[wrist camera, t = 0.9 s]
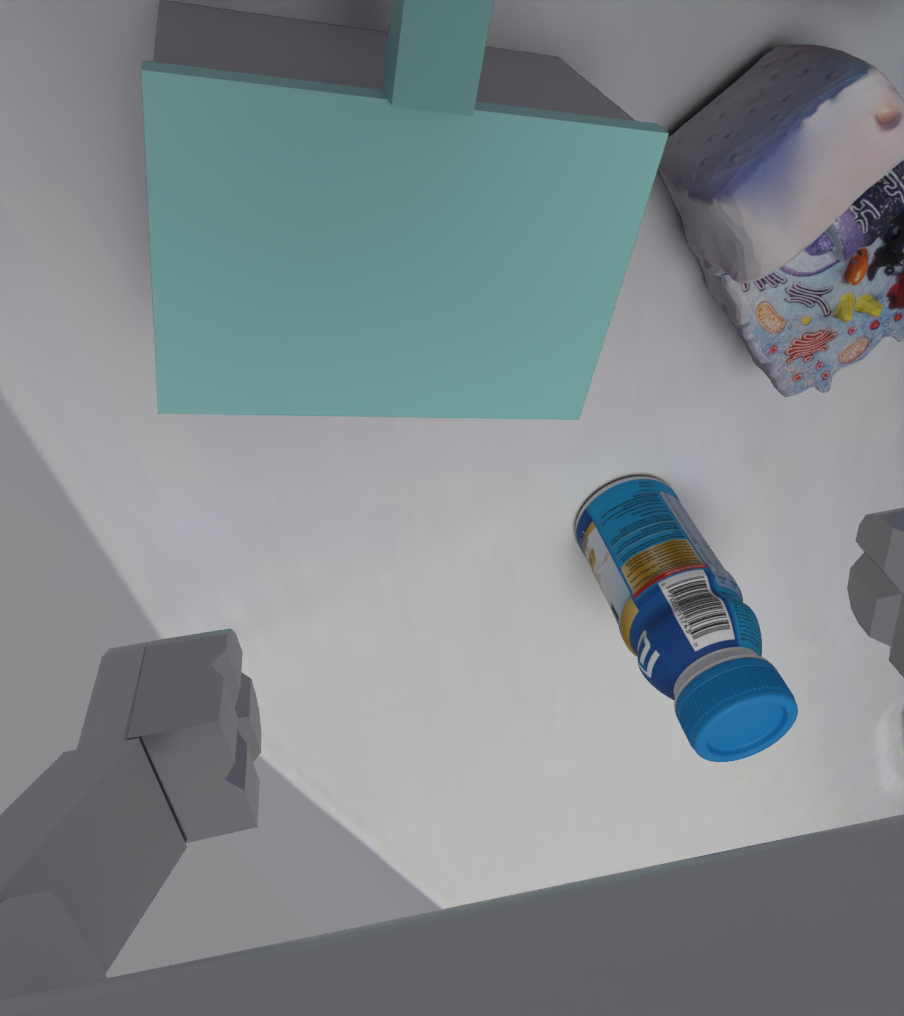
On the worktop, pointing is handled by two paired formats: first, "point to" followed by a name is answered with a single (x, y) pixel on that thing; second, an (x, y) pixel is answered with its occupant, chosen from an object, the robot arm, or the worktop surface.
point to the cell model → (798, 210)
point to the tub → (355, 58)
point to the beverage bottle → (684, 619)
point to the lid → (384, 236)
